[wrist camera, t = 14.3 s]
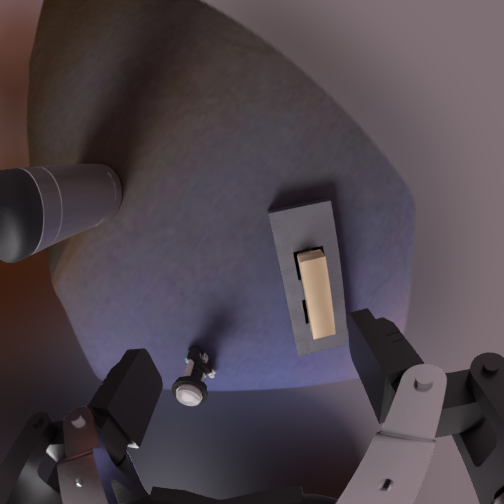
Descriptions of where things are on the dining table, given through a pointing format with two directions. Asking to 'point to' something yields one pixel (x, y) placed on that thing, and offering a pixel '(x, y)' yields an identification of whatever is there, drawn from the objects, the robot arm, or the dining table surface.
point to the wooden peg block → (317, 292)
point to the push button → (193, 379)
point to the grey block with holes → (288, 241)
